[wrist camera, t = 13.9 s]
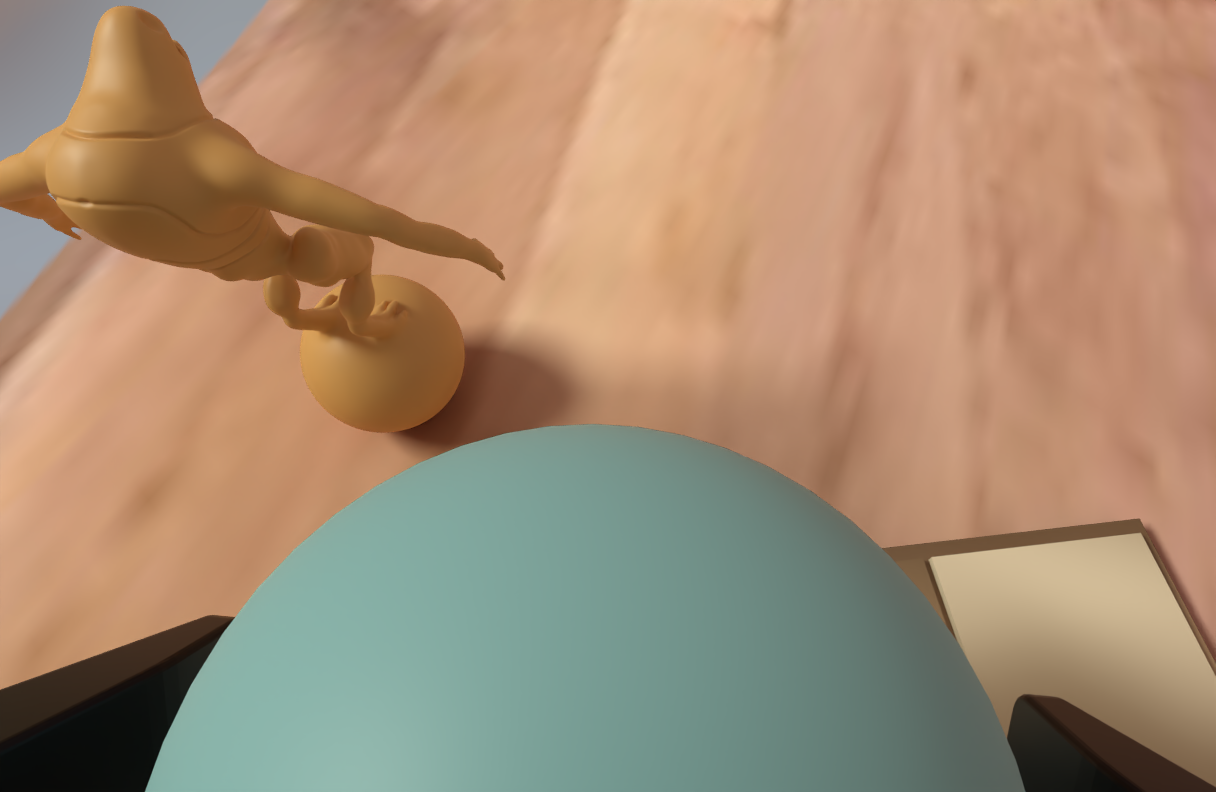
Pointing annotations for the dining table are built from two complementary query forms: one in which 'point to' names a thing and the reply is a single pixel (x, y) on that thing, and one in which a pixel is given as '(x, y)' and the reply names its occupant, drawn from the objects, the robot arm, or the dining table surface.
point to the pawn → (587, 640)
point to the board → (1078, 630)
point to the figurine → (245, 225)
